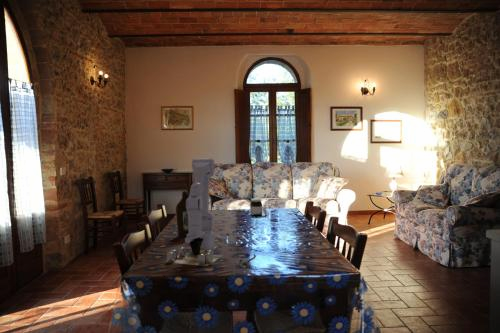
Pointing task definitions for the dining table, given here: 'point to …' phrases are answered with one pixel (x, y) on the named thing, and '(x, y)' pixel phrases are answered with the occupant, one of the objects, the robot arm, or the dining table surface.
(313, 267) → the dining table surface
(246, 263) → the pliers
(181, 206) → the olive oil
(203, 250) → the nut
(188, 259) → the board
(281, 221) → the dining table surface
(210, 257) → the grey piece
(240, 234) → the dining table surface
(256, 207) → the spread jar
